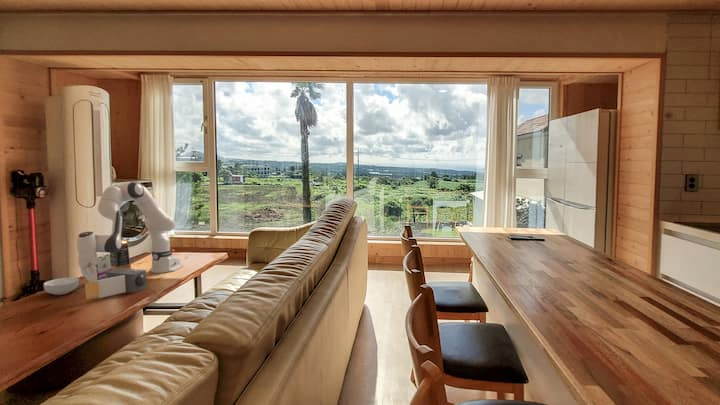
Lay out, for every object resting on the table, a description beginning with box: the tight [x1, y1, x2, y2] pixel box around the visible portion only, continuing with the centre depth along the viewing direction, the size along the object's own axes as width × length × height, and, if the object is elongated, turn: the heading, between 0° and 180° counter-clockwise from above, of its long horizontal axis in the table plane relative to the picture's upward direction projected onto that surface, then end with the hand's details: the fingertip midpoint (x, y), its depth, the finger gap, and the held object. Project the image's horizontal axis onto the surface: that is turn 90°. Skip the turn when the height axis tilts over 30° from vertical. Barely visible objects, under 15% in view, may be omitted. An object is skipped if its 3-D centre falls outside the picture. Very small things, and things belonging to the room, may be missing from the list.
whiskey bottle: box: [109, 236, 132, 270], centre depth 284 cm, size 10×10×32 cm
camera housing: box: [105, 268, 148, 294], centre depth 246 cm, size 10×22×12 cm, turn 74°
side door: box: [84, 275, 127, 300], centre depth 232 cm, size 20×2×10 cm, turn 138°
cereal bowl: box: [43, 277, 80, 296], centre depth 239 cm, size 17×17×7 cm
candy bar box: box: [95, 253, 112, 280], centre depth 262 cm, size 11×5×16 cm, turn 168°
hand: (89, 285), depth 228 cm, fingers closed
